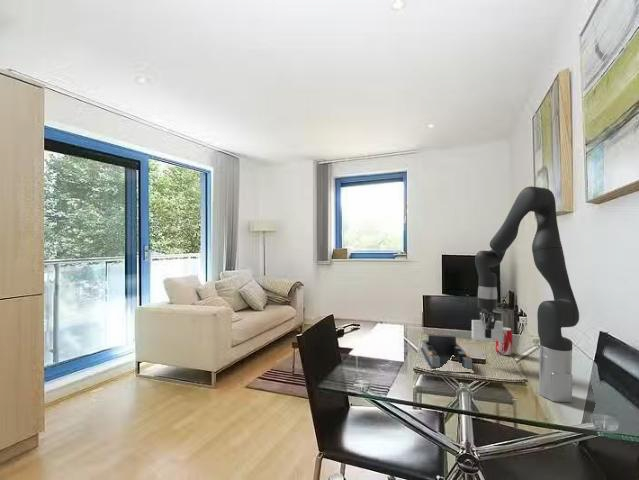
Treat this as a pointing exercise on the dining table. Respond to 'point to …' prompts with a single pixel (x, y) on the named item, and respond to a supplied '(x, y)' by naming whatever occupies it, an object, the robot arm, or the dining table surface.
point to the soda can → (505, 342)
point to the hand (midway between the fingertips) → (486, 336)
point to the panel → (479, 331)
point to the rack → (443, 351)
